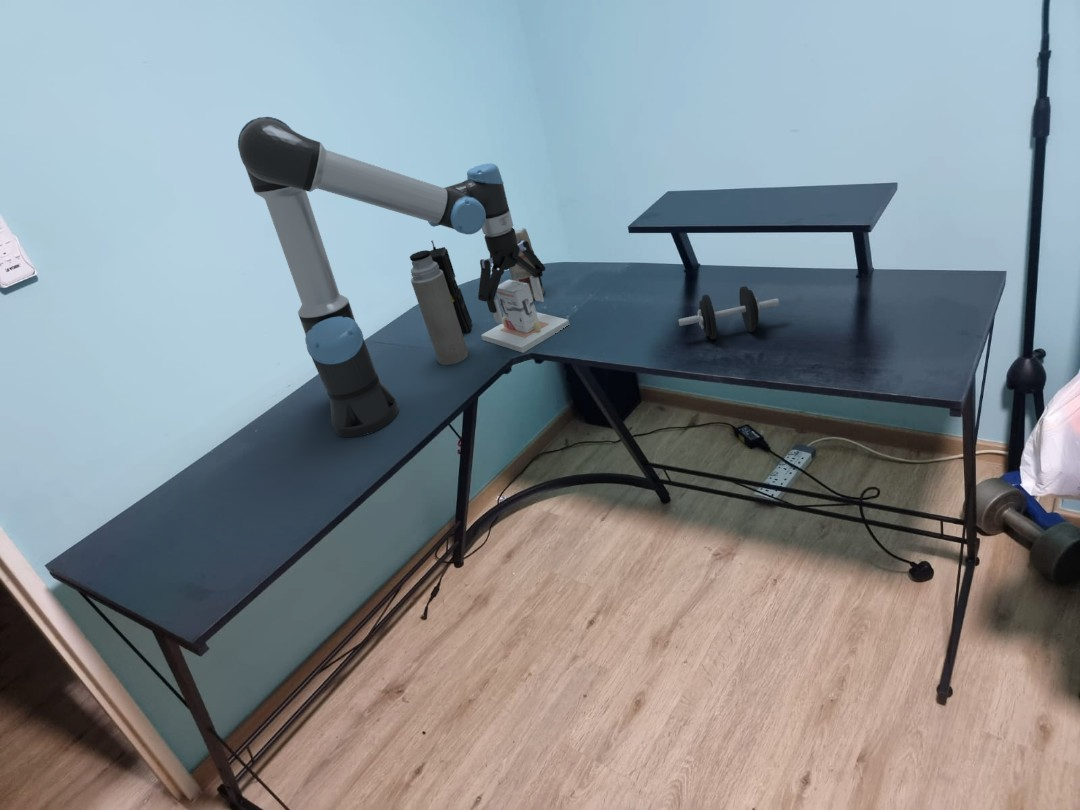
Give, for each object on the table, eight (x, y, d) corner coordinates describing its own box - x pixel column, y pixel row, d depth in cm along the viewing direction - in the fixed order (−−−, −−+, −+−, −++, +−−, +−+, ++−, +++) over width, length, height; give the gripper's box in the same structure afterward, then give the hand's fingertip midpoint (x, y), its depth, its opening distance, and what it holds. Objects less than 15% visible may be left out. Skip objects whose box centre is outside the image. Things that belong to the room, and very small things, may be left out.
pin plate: (523, 352, 173) (519, 338, 171) (482, 340, 186) (478, 326, 184) (569, 325, 181) (566, 310, 179) (528, 314, 193) (524, 301, 191)
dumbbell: (773, 314, 160) (770, 273, 156) (786, 332, 152) (783, 289, 147) (678, 334, 163) (672, 294, 158) (686, 353, 154) (680, 311, 149)
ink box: (505, 328, 184) (493, 286, 178) (519, 320, 187) (508, 278, 181) (526, 334, 178) (515, 290, 172) (541, 325, 180) (530, 282, 175)
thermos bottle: (451, 348, 185) (418, 247, 172) (474, 351, 181) (442, 246, 167) (432, 363, 180) (396, 259, 166) (455, 366, 175) (420, 259, 162)
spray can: (512, 304, 203) (494, 237, 193) (521, 292, 209) (504, 226, 199) (540, 301, 200) (523, 233, 190) (548, 289, 206) (532, 222, 196)
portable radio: (470, 334, 191) (443, 246, 178) (448, 339, 191) (420, 251, 179) (473, 322, 197) (447, 236, 185) (452, 327, 198) (425, 241, 186)
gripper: (466, 252, 161) (491, 335, 172) (546, 214, 173) (565, 293, 184) (448, 249, 167) (473, 329, 177) (527, 212, 179) (546, 289, 189)
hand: (520, 311), depth 180 cm, fingers open, 13 cm apart
